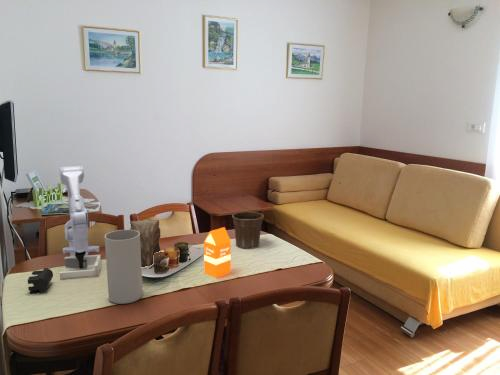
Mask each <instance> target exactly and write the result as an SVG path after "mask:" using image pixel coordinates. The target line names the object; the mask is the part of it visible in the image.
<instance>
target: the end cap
mask: <svg viewBox="0 0 500 375" xmlns="http://www.w3.org/2000/svg"><path fill="white" fill-rule="evenodd" d="M53 278H54V272H53V271H52V269H50V268H48V267H44V268H43V270H33V271H32V272H31V276H29V277H28V278H27V285H32V286H28V287H27V288H28V294H29V295H35V294H36V295H38V293H39V294H43V293H44V292H46V290H47V289H48V288H49V285H50V283H51V281H52V279H53Z"/></svg>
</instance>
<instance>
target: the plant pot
mask: <svg viewBox="0 0 500 375" xmlns="http://www.w3.org/2000/svg"><path fill="white" fill-rule="evenodd" d="M231 217H232V219H233V225H234V236H235V245H236V247H238V248H241V249H245V250H246V249H247V250H248V249H252V248H257V247H259V246H260V239H261V228H262V224H263V218H264V214H262V213H260V212H258V211H257V212H256V211H239V212H236V213H233V214H232V215H231Z"/></svg>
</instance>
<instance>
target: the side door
mask: <svg viewBox="0 0 500 375" xmlns="http://www.w3.org/2000/svg"><path fill="white" fill-rule="evenodd" d="M83 266H84V267H83V268H87V259H83ZM65 267H78V268H79V261H78V259H71V258H65V257H64V268H65Z"/></svg>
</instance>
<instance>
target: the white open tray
mask: <svg viewBox="0 0 500 375" xmlns="http://www.w3.org/2000/svg"><path fill="white" fill-rule="evenodd" d="M101 257H102V256H101V254H92V255H90V254H88V256H84V258H83V259H87V268H81V269H80V268H78V267H65V266H64V269H63V271H60V272H59V280H60V281H61V280H63V281H65V280H74V279H84V278H85V279H86V278H98V277H99V275H100V271H101V267H102V258H101ZM65 258H71V259H77V258H76V256H75V257H70V256H64V259H65Z"/></svg>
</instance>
